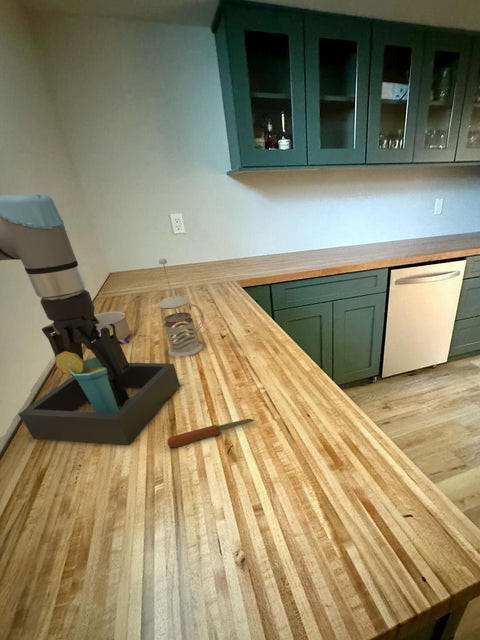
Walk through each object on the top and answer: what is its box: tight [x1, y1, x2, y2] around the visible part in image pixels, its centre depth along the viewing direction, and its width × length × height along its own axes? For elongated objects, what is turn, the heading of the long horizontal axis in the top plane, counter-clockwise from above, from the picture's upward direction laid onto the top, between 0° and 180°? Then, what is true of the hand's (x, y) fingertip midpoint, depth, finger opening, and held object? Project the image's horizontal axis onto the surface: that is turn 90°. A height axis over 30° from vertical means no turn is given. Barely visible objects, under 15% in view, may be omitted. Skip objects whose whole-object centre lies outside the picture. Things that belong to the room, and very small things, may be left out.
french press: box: [157, 258, 205, 358], centre depth 90 cm, size 10×12×25 cm
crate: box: [18, 362, 181, 446], centre depth 70 cm, size 21×20×6 cm
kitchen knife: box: [166, 418, 255, 448], centre depth 62 cm, size 16×1×2 cm, turn 110°
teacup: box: [92, 311, 130, 342], centre depth 102 cm, size 14×11×8 cm
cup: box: [54, 339, 130, 413], centre depth 67 cm, size 14×8×15 cm, turn 111°
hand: (109, 401), depth 70 cm, fingers closed on cup, 6 cm apart
